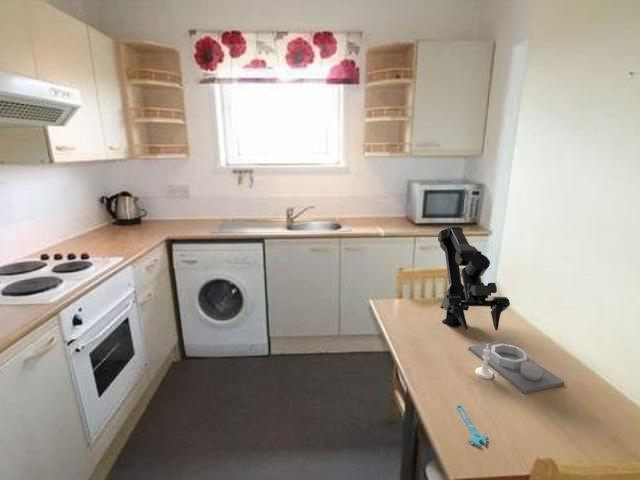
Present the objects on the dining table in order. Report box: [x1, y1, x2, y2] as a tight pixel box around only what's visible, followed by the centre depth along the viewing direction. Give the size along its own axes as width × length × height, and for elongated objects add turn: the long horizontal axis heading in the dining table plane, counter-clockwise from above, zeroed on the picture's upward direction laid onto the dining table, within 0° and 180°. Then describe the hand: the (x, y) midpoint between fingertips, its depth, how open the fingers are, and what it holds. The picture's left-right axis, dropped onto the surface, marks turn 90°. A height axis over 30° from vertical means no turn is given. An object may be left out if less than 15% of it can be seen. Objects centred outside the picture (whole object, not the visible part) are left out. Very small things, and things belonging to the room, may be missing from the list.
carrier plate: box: [467, 340, 565, 395], centre depth 115 cm, size 24×14×4 cm, turn 16°
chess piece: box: [475, 343, 494, 380], centre depth 110 cm, size 5×5×10 cm
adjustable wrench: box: [455, 405, 489, 448], centre depth 91 cm, size 14×1×5 cm
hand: (481, 329), depth 114 cm, fingers open, 9 cm apart
